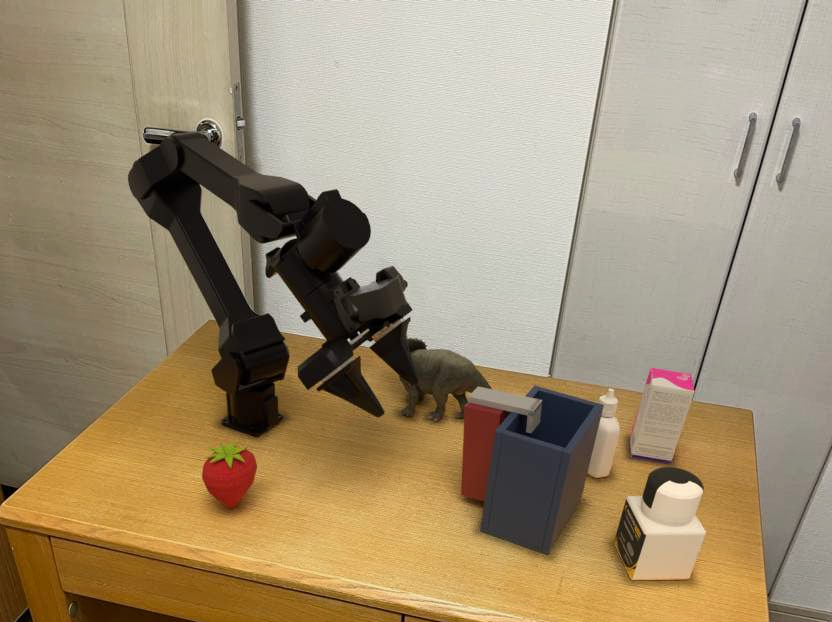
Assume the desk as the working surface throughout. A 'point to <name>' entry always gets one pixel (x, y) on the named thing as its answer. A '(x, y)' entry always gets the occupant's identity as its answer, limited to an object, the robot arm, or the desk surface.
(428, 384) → the toy dinosaur
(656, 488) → the medicine bottle
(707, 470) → the desk surface
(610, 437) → the eye dropper bottle
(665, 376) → the supplement box
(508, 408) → the red post with hook
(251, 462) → the strawberry
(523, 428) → the storage box
